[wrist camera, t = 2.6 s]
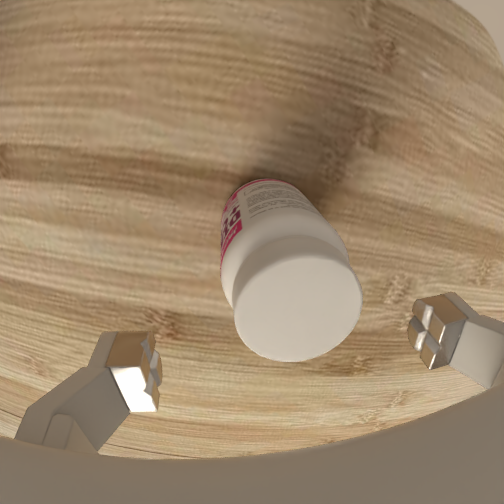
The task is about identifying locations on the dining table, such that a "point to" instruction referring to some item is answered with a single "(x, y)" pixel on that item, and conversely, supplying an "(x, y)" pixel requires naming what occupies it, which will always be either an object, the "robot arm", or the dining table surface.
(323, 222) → the pill bottle
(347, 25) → the dining table surface
